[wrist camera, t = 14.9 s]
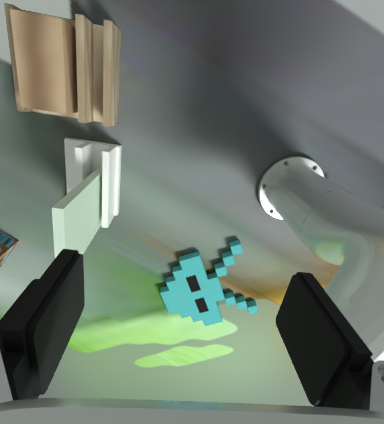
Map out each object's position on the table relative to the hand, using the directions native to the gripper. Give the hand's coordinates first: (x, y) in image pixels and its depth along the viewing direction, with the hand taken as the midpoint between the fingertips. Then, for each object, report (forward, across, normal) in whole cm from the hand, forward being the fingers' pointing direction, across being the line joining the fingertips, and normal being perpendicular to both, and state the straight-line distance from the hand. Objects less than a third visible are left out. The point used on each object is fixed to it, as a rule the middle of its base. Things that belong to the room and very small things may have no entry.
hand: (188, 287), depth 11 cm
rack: (+36, +18, -9) cm, 41 cm away
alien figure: (+37, -10, +31) cm, 49 cm away
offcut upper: (+32, +20, -9) cm, 39 cm away
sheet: (+35, +13, +10) cm, 38 cm away
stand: (+36, +15, +8) cm, 40 cm away
